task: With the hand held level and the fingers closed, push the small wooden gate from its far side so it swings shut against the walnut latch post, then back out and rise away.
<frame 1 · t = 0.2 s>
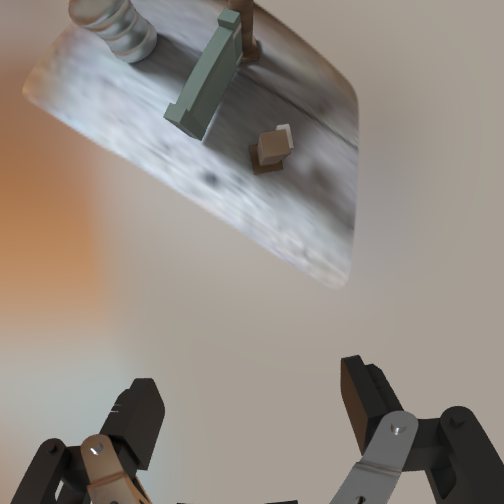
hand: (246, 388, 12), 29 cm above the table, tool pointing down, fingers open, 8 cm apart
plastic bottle: (140, 47, 33), on the table
hinge post: (243, 51, 33), on the table
latch post: (265, 158, 37), on the table
gate: (210, 80, 28), point 8 cm above the table, hinge at -35.0°
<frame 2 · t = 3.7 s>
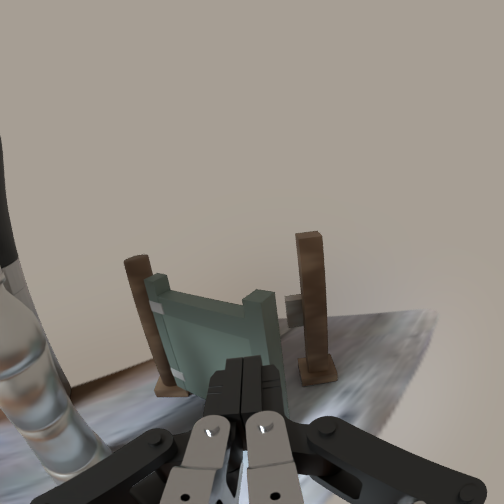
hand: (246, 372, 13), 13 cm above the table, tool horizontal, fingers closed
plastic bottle: (95, 481, 17), on the table
hinge post: (175, 386, 30), on the table
latch post: (317, 373, 30), on the table
gate: (213, 352, 24), point 7 cm above the table, hinge at -35.0°
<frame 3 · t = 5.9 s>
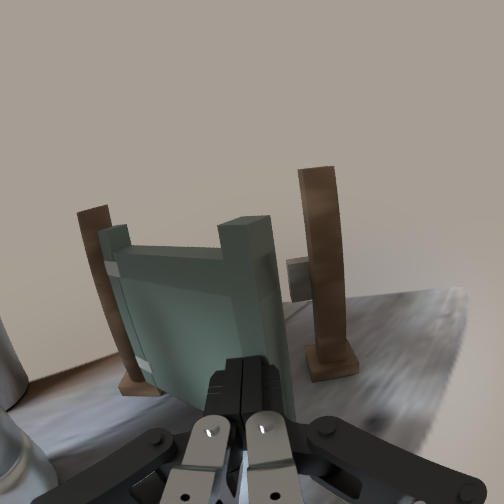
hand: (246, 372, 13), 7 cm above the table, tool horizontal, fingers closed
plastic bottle: (35, 498, 10), on the table
hinge post: (146, 382, 23), on the table
latch post: (330, 364, 22), on the table
gate: (185, 328, 16), point 8 cm above the table, hinge at -34.8°, touching gripper
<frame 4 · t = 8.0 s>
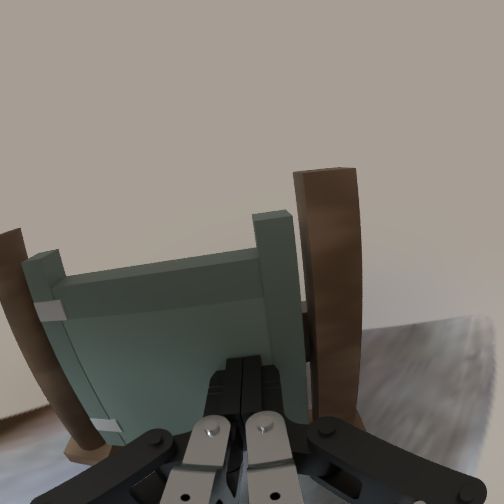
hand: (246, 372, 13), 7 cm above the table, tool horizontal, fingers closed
hinge post: (98, 447, 15), on the table
latch post: (331, 436, 15), on the table
gate: (171, 360, 13), point 7 cm above the table, hinge at 0.4°, touching gripper
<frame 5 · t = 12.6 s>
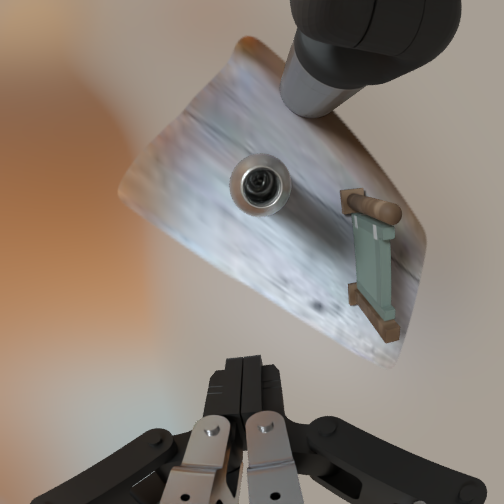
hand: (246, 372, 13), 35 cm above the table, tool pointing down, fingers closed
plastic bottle: (258, 180, 45), on the table
hinge post: (351, 200, 45), on the table
latch post: (358, 291, 49), on the table
gate: (373, 262, 40), point 8 cm above the table, hinge at 0.4°
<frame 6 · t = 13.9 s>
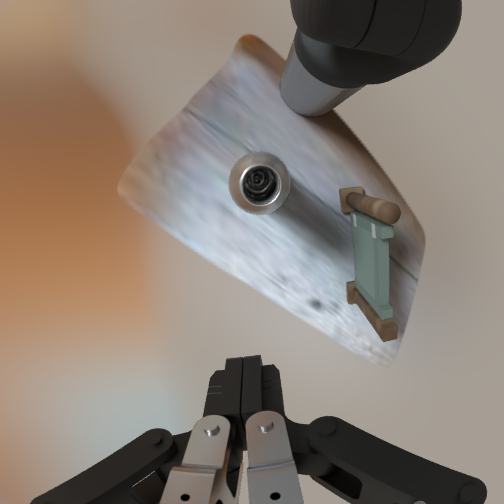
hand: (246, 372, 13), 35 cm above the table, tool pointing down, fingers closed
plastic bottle: (257, 178, 45), on the table
hinge post: (351, 199, 45), on the table
latch post: (356, 290, 49), on the table
gate: (371, 261, 40), point 7 cm above the table, hinge at 0.4°
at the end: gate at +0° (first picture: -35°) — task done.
